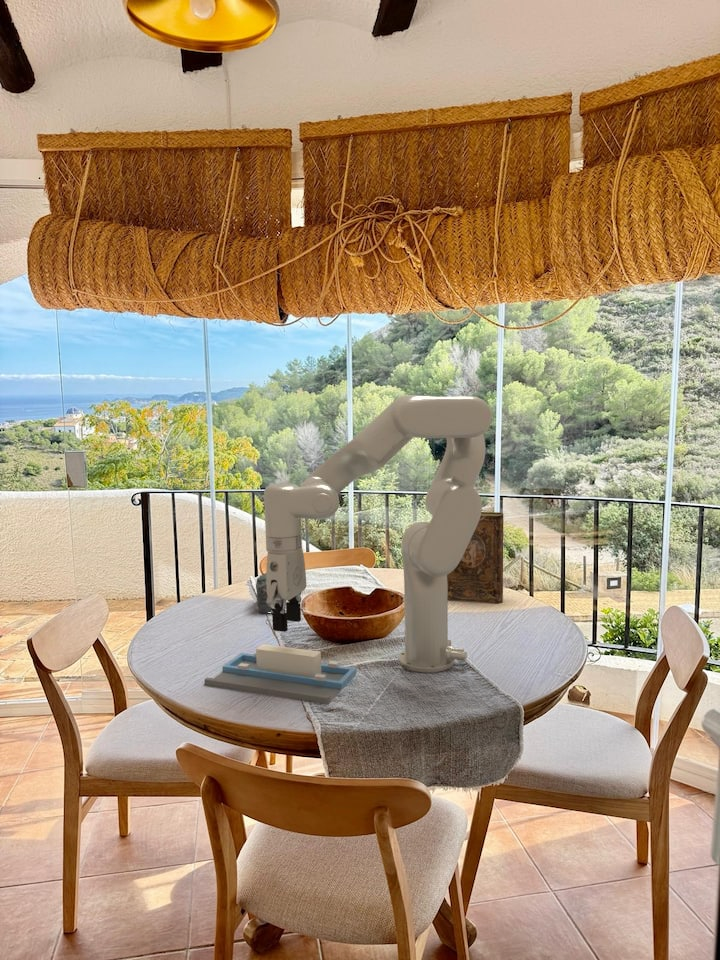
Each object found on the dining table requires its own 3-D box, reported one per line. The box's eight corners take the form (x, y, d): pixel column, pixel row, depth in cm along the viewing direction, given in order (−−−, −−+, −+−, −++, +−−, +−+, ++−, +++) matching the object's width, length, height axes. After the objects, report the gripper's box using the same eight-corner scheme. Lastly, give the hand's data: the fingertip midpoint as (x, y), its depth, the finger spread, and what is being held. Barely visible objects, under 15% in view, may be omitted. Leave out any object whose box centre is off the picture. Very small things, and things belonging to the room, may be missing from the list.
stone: (284, 614, 192) (283, 578, 191) (256, 615, 191) (254, 580, 190) (284, 600, 204) (283, 566, 203) (257, 601, 204) (256, 567, 202)
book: (503, 598, 201) (504, 512, 198) (501, 604, 196) (502, 516, 193) (446, 594, 206) (446, 510, 202) (443, 600, 201) (443, 514, 197)
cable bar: (321, 674, 150) (320, 651, 149) (315, 679, 147) (314, 657, 146) (263, 665, 155) (262, 644, 154) (256, 671, 152) (255, 649, 151)
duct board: (356, 676, 150) (356, 664, 150) (328, 708, 136) (328, 694, 136) (242, 660, 160) (241, 649, 160) (204, 688, 146) (204, 675, 145)
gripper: (281, 553, 138) (284, 641, 140) (317, 535, 154) (319, 614, 156) (247, 551, 140) (251, 637, 143) (286, 533, 156) (289, 611, 159)
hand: (287, 624), depth 149 cm, fingers open, 5 cm apart
